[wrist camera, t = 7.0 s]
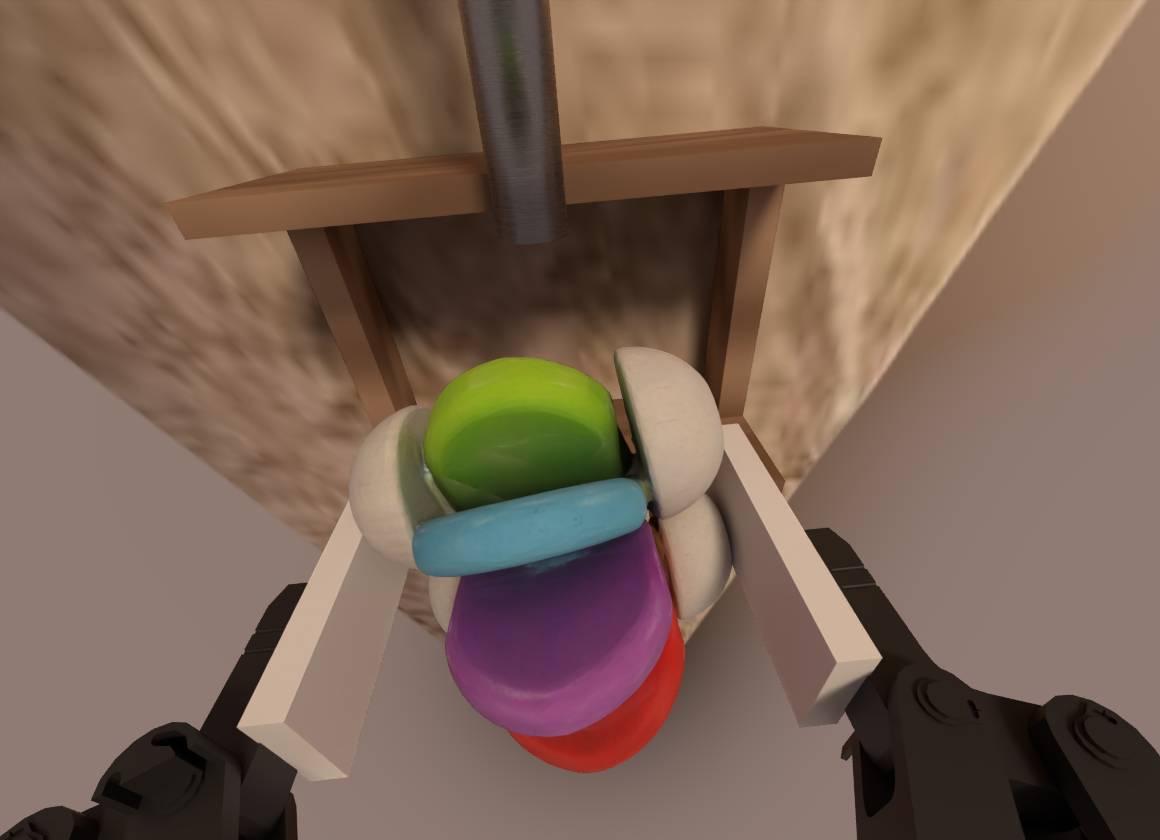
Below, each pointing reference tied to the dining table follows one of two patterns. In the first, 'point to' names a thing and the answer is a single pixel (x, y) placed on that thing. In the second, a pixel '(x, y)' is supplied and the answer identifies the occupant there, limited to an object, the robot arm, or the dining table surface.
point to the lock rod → (517, 115)
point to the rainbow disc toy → (557, 541)
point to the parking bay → (591, 173)
